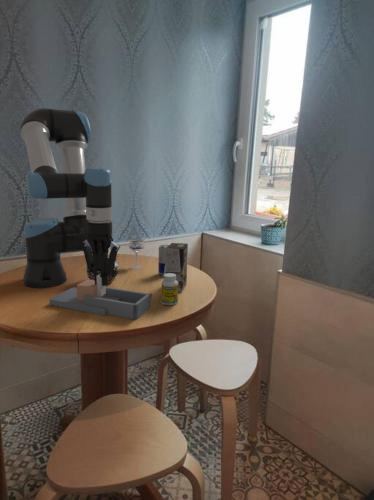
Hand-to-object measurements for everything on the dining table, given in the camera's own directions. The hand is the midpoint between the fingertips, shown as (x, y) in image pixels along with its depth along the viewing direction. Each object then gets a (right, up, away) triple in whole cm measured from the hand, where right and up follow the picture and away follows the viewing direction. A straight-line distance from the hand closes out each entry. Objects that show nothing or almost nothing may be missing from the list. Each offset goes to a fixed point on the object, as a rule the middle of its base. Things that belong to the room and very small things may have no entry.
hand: (101, 294), depth 112 cm
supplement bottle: (+21, -3, +5) cm, 22 cm away
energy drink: (+18, +4, +34) cm, 38 cm away
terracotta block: (-4, -1, +1) cm, 4 cm away
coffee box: (+23, 0, +19) cm, 30 cm away
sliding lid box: (0, -4, +1) cm, 4 cm away
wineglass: (+5, +6, +42) cm, 43 cm away
